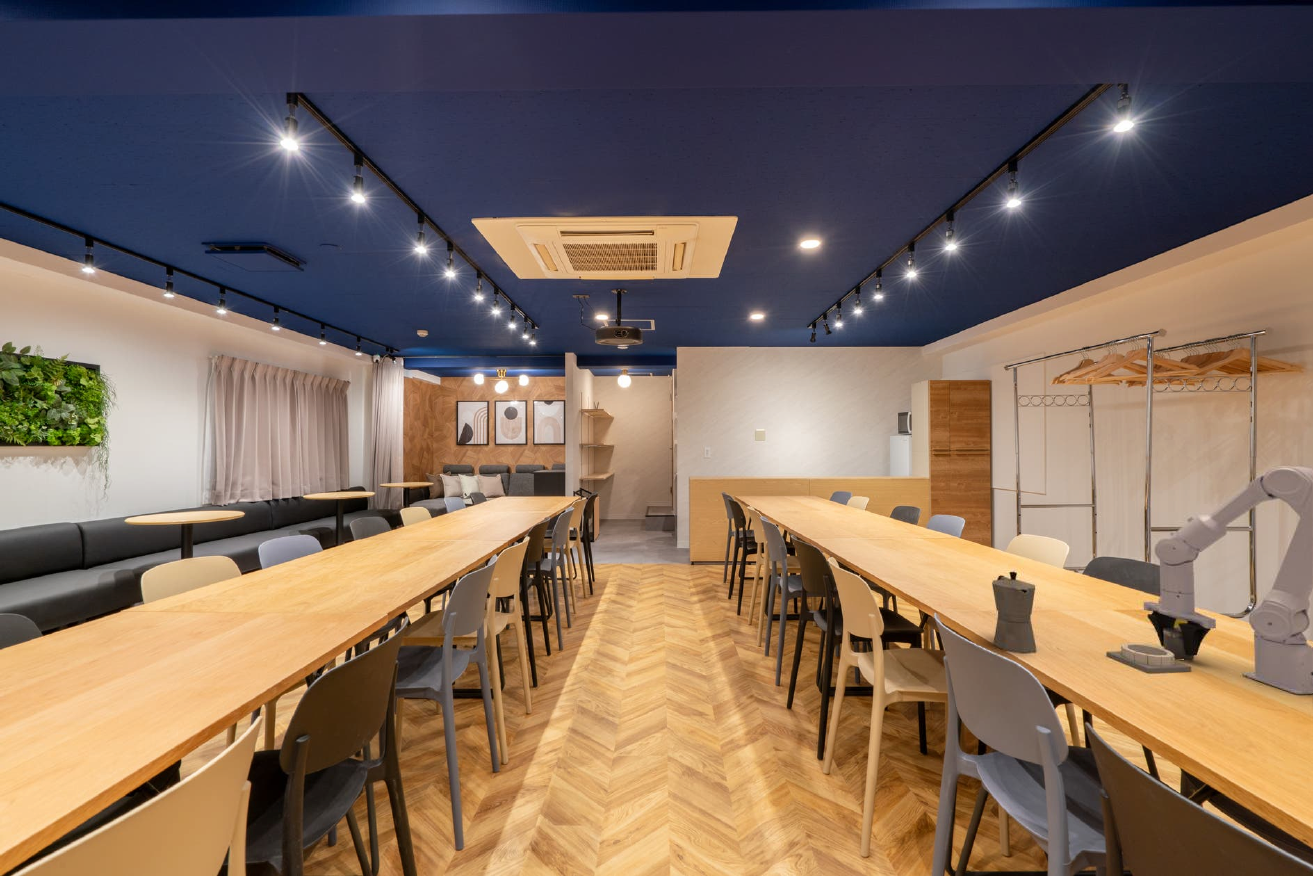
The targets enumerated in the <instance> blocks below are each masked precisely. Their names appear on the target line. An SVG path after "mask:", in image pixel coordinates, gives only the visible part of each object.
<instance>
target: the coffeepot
mask: <svg viewBox="0 0 1313 876" xmlns="http://www.w3.org/2000/svg"><path fill="white" fill-rule="evenodd" d="M1008 573H1009V577H1006V576H1004V575H998V576H997V579H995V580H992V582H991V586H992V590H993V591H992V592H993V597H994V602H995V603H994V604H995V607H996V608H995V609H996V611H997V619H996V627H995V633H994V638H993V645H994V646H995V647H996V648H999V649H1001V650H1004V651H1008V652H1013V653H1017V652H1020V654H1032V653H1031V652H1033V653H1036V651H1037V645H1036V639H1035V635H1034V629H1033V625H1032V621H1031V617H1032V616H1031V615H1032V612H1033V606H1034V601H1035V600H1034V599H1035V593H1036V585H1035V584H1033V583H1030V582H1026V581H1023V580H1019V579H1017V575H1018V573H1017V572H1016V571H1008Z"/></svg>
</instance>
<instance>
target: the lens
mask: <svg viewBox="0 0 1313 876" xmlns="http://www.w3.org/2000/svg"><path fill="white" fill-rule="evenodd" d="M1163 631H1164V647H1163V649H1165V650H1168V651H1170V652H1172V653H1173V654H1174V658H1175V659H1174V660H1177V659H1184V660H1193V659H1194V660H1195V656H1188V655H1186V653H1185V649H1184V638H1183V634H1182V631H1181V629H1180V628H1175V627H1164V628H1163ZM1194 660H1193V661H1194Z"/></svg>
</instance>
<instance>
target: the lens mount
mask: <svg viewBox="0 0 1313 876" xmlns="http://www.w3.org/2000/svg"><path fill="white" fill-rule="evenodd" d="M1105 655H1106V657H1107V658H1110V657H1111V658H1110V659H1112V658H1113V660H1115V661H1117V662H1120V663H1122V664H1124V665H1127V666H1129V667H1132V666H1133V667H1132V668H1135V669H1137V670H1139V671H1142V672H1144V673H1147V674H1162V673H1163V674H1164V673H1167V672H1169V673H1187V671H1191V672H1192V666H1190V665H1188V664H1185V663H1181V662H1180V661H1176V660H1175V659H1174V654H1173V653H1172V652H1170V651H1168V650H1165V649H1164V647H1159V646H1156V645H1150V644H1147V643H1146V644H1144V643H1135V642H1132V643H1131V642H1130V643H1123V644H1121V645H1120V650H1117V651H1106V654H1105ZM1185 671H1186V672H1185ZM1167 674H1168V673H1167Z"/></svg>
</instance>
